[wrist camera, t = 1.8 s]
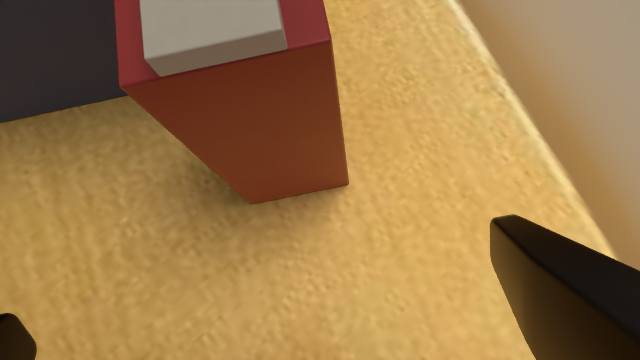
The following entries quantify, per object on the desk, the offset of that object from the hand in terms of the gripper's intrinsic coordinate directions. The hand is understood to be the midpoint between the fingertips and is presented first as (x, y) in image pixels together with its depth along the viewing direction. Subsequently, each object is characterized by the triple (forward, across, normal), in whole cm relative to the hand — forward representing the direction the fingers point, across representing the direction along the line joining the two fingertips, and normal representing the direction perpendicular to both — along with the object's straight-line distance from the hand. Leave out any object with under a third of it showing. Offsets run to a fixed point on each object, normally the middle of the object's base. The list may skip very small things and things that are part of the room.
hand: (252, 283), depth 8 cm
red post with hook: (+15, 0, +3) cm, 16 cm away
